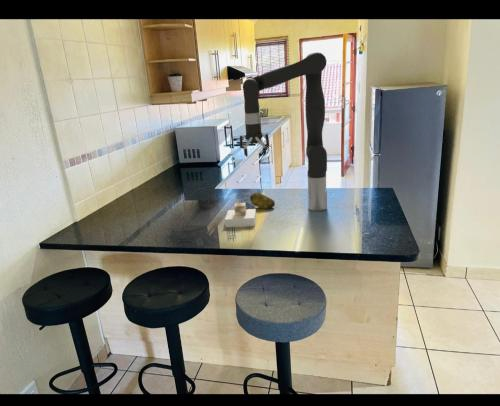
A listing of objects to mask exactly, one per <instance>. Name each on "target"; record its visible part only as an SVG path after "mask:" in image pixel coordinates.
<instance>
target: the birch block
mask: <svg viewBox="0 0 500 406" xmlns="http://www.w3.org/2000/svg"><path fill="white" fill-rule="evenodd" d="M233 207H234V210H235V216H246V209H247V205H246V202H235V203H234V206H233Z"/></svg>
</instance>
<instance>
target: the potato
mask: <svg viewBox="0 0 500 406" xmlns="http://www.w3.org/2000/svg"><path fill="white" fill-rule="evenodd" d="M249 200H250V202H251V204H253V206H255V207H257V208H259V209H261V210H268V209H273V207H275V205H276V203H275V200H274V199H272V198H271V197H269V196H266V195H264V194H262V193H260V192H253V193H252V194H251V195H250V197H249Z"/></svg>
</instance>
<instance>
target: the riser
mask: <svg viewBox="0 0 500 406" xmlns="http://www.w3.org/2000/svg"><path fill="white" fill-rule="evenodd" d="M256 220H257V209H256V208H248V209H247V208H246V216H235V209H228V210H227V213H226V216H225V218H224V224H225V228H238V227H239V228H240V227H242V228H244V227H256Z"/></svg>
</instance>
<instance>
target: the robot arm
mask: <svg viewBox="0 0 500 406" xmlns="http://www.w3.org/2000/svg"><path fill="white" fill-rule="evenodd" d="M326 66H327V58H326V56H325V55H324V53H321V52H318V51H315V52H311V53H309V54H307V56H306V57H304V58H302V59H301V60H299V61H296V62H294V63H291V64H288V65H285V66H282V67H281V66H280V67H278V68H275V69H272V70H270V71H267V72H264V73H262V74H260V75H257V76H254V77H250V78H247V79H245V80H244V82H243V84H242V92H243V98H244V99H243V100H244V124H245V135H242V134H240V136H239V148H240V149H243V154H244V156H245V157H246V158H247V157H248V156H249V155H248V146H249V145H250V144H251V145H257V144H259V145H260V146H261V147H262V154H263V155H262V156H266V154H267V147H269V146H270V139H269V134H268V133H267V132H266V133H264V134H263V132H262V121H261V119H262V118H261V112H260V103H259V102H260V101H259V92H260V91H264V90H268V89H271V88H273V87H276V86H279V85H282V84H284V83H286V82H288V81H292V80H294V79H297V78H299V77H303V76H305V104H304V105H305V124H306V132H307V139H306V152H305V154H306V157H307V198H308V205H307V206H308V207H307V208H308V210H310V211H313V212H321V211H324V210H328V191H327V171H328V153H327V150H326V148H325V147H324V142H323V129H324V124H325V120H326V119H325V118H326V101H325V95H324V90H323V87H322V86H323V85H322V74H323V71H324V70H325V69H326ZM245 139H246V141H247V142H246V143H245V144H244V142H243V141H244V140H245ZM262 139H265V143H264V142H263V140H262Z"/></svg>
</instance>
